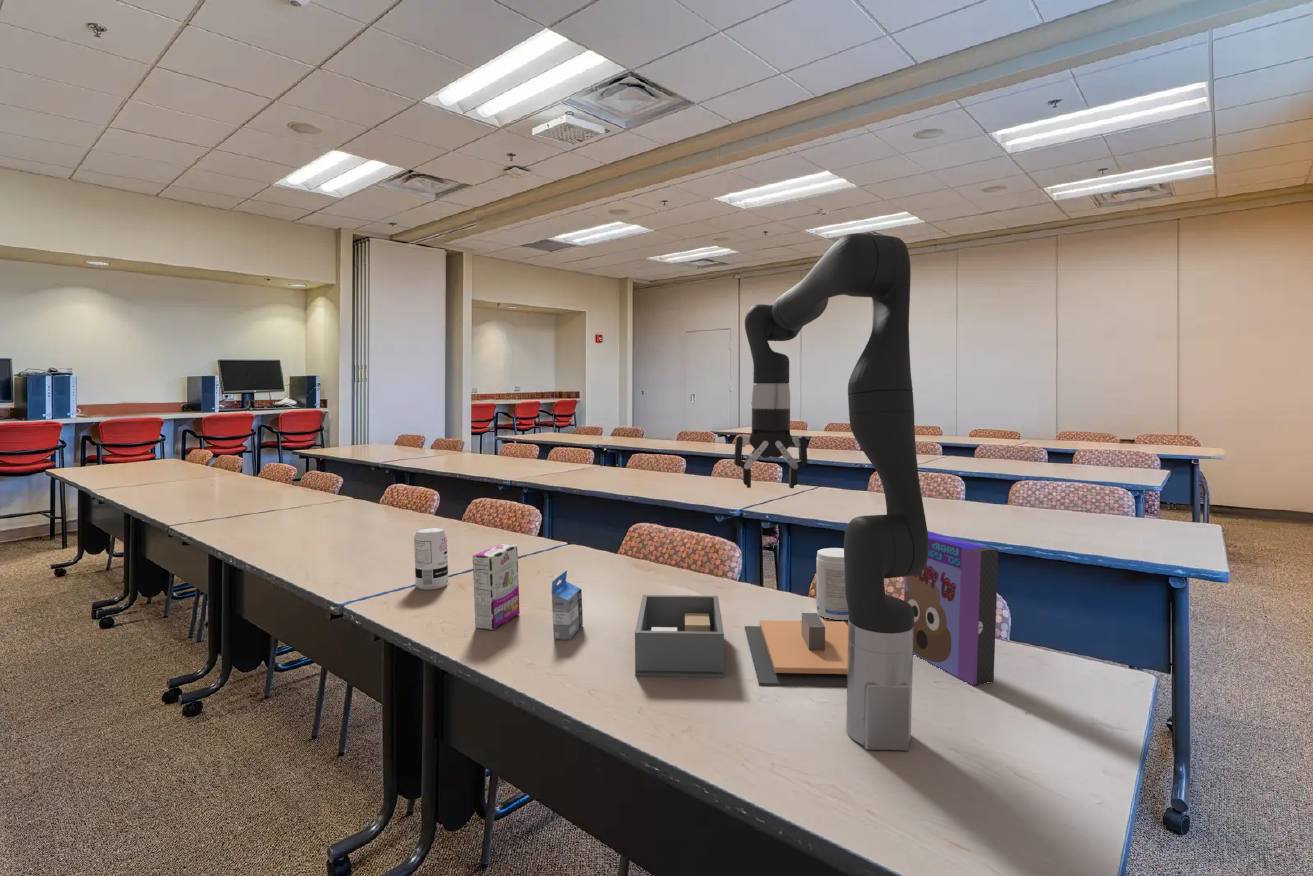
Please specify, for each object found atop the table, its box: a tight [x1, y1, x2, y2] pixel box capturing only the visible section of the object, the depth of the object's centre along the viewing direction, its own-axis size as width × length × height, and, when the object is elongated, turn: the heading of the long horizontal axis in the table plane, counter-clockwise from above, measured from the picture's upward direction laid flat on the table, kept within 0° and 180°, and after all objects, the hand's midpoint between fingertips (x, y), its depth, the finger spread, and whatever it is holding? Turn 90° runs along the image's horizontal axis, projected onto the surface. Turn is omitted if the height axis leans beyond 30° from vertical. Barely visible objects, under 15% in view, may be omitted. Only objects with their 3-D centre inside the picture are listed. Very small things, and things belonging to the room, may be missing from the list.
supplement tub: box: [816, 547, 848, 621], centre depth 151 cm, size 10×10×15 cm
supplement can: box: [413, 526, 449, 591], centre depth 174 cm, size 8×8×15 cm
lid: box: [759, 612, 848, 674], centre depth 129 cm, size 18×24×6 cm
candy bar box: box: [472, 543, 520, 631], centre depth 147 cm, size 11×5×16 cm, turn 161°
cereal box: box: [903, 530, 999, 687], centre depth 123 cm, size 17×5×24 cm, turn 21°
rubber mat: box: [744, 625, 847, 688], centre depth 129 cm, size 28×24×1 cm
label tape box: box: [551, 570, 584, 641], centre depth 141 cm, size 9×4×12 cm, turn 168°
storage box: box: [634, 594, 725, 678], centre depth 130 cm, size 16×22×8 cm
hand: (770, 487), depth 132 cm, fingers open, 8 cm apart
